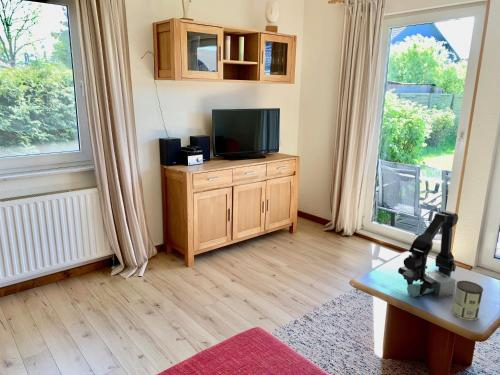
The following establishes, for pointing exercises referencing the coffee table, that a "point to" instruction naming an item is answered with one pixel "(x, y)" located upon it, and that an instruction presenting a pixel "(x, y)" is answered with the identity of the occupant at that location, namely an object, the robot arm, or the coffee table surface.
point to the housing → (441, 283)
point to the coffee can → (467, 300)
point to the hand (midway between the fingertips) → (415, 292)
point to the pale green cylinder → (417, 289)
